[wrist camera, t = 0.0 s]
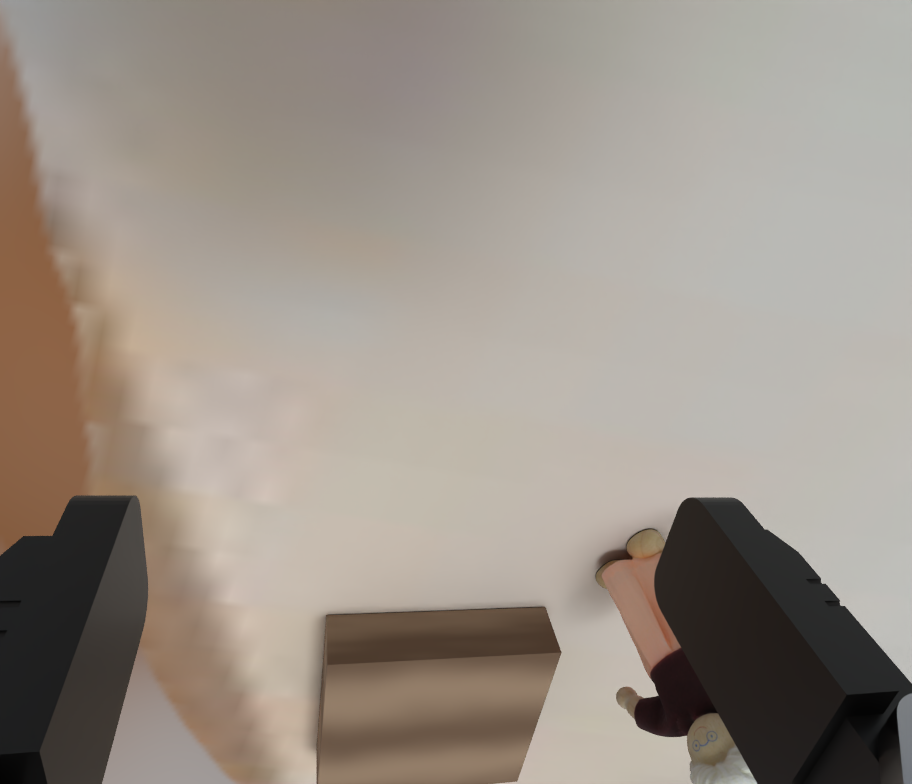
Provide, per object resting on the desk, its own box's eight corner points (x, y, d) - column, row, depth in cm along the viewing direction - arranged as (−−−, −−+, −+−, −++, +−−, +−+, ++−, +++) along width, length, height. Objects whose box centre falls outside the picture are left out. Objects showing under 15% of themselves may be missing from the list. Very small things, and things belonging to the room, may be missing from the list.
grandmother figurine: (637, 507, 35) (776, 742, 25) (693, 524, 37) (846, 754, 26) (560, 606, 38) (654, 852, 28) (614, 619, 40) (722, 857, 29)
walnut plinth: (326, 615, 36) (327, 664, 33) (545, 607, 38) (561, 652, 36) (316, 750, 42) (316, 800, 39) (505, 734, 44) (517, 781, 42)
